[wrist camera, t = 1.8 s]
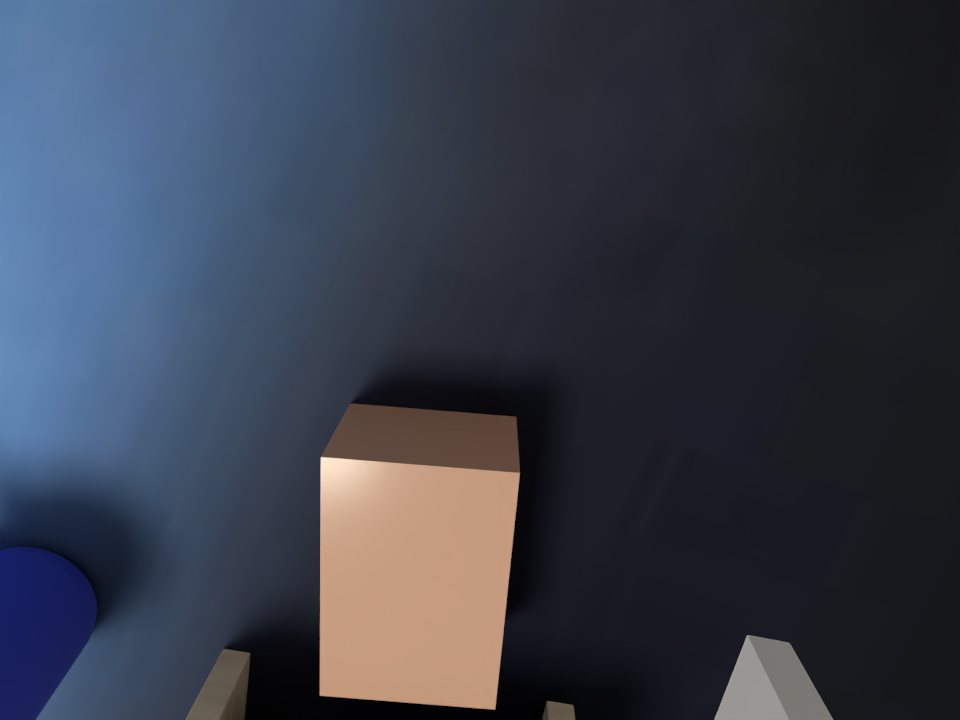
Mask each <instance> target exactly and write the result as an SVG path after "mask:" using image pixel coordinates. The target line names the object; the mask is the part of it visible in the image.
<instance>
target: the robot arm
mask: <svg viewBox="0 0 960 720" xmlns="http://www.w3.org/2000/svg"><path fill="white" fill-rule="evenodd" d="M714 720H833V719H832V717H831V715H830V713H829V712H828V710H827V708H826V706H825V705H824V703H823V701H822V699H821V698H820V696H819V694H818V692H817V691H816V689H815V687H814V685H813V683H812V682H811V680H810V678H809V676H808V675H807V673H806V671H805V669H804V668H803V666H802V664H801V662H800V661H799V659H798V657H797V655H796V653H795V652H794V650H793V648H792V646H791V645H790V643H788V642H783V641H777V640H772V639H766V638H761V637H755V636H750V635H747V637H746V640H745V642H744V645H743V648H742V650H741V653H740V655H739V658H738V660H737V663H736V666H735V668H734V671H733V673H732V676H731V678H730V681H729V684H728V686H727V689H726V691H725V694H724V696H723V699H722V702H721V704H720V707H719V709H718V712H717V714H716V717H715V719H714Z"/></svg>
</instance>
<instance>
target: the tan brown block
mask: <svg viewBox="0 0 960 720" xmlns="http://www.w3.org/2000/svg"><path fill="white" fill-rule="evenodd" d="M519 478H520V465H519V450H518V434H517V418H516V417H513V416H501V415H488V414H476V413H464V412H451V411H439V410H426V409H414V408H402V407H389V406H377V405H364V404H352V403H350V404H349V406H348V408H347V410H346V412H345V414H344V415H343V417H342V419H341V421H340V423H339V425H338V426H337V428H336V430H335V432H334V434H333V436H332V437H331V439H330V441H329V443H328V445H327V447H326V448H325V450H324V452H323V454H322V456H321V529H320V696H330V697H342V698H355V699H367V700H380V701H393V702H405V703H418V704H430V705H443V706H455V707H468V708H480V709H493V710H495V708H496V698H497V688H498V679H499V669H500V660H501V650H502V640H503V631H504V621H505V612H506V602H507V593H508V583H509V573H510V564H511V554H512V545H513V535H514V526H515V516H516V506H517V497H518V487H519Z"/></svg>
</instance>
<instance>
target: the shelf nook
mask: <svg viewBox="0 0 960 720" xmlns="http://www.w3.org/2000/svg"><path fill="white" fill-rule="evenodd" d="M250 654H251V653H247V652H241V651H235V650H229V649H223V650H222V652H221V654H220V656H219V658H218V659H217V661H216V663H215V665H214V667H213V669H212V671H211V672H210V674H209V676H208V678H207V680H206V682H205V684H204V686H203V687H202V689H201V691H200V693H199V695H198V697H197V699H196V700H195V702H194V704H193V706H192V708H191V710H190V712H189V714H188V715H187V717H186V719H185V720H245V711H246V700H247V688H248V677H249V665H250ZM542 720H575V713H574V705H570V704H564V703H558V702H551V701H547V702H546V706H545V710H544V714H543V718H542Z"/></svg>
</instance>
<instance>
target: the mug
mask: <svg viewBox="0 0 960 720" xmlns="http://www.w3.org/2000/svg"><path fill="white" fill-rule="evenodd" d="M96 617H97V602H96V597H95V594H94V591H93V588H92V586H91V584H90V583H89V581H88V580H87V578H86V576H85V575H84V574H83V573H82V572H81V571H80V570H79V569H78V568H77V567H76V566H75V565H74V564H72V563H71V562H70V561H68V560H67V559H65V558H63V557H62V556H60V555H58V554H56V553H53V552H51V551H48V550H44V549H40V548H34V547H14V548H8V549H4V550H1V551H0V720H36V718H37V717H38V715H39V714H40V712H41V711H42V709H43V708H44V706H45V705H46V703H47V702H48V700H49V699H50V697H51V696H52V694H53V693H54V691H55V690H56V688H57V687H58V685H59V684H60V683H61V681H62V680H63V678H64V677H65V675H66V674H67V672H68V671H69V669H70V668H71V666H72V665H73V663H74V662H75V660H76V659H77V657H78V656H79V654H80V653H81V651H82V650H83V648H84V647H85V645H86V644H87V642H88V640H89V638H90V636H91V634H92V632H93V629H94V626H95V622H96Z"/></svg>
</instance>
